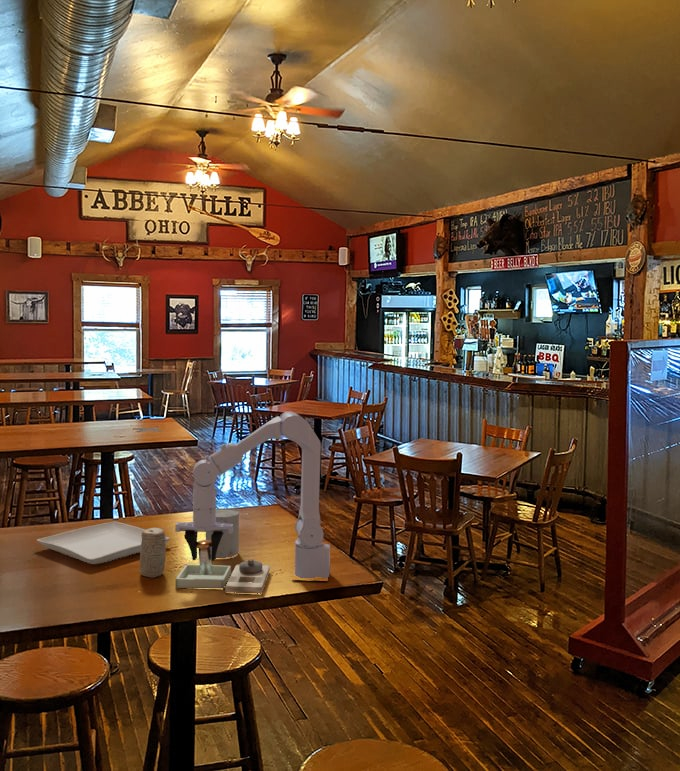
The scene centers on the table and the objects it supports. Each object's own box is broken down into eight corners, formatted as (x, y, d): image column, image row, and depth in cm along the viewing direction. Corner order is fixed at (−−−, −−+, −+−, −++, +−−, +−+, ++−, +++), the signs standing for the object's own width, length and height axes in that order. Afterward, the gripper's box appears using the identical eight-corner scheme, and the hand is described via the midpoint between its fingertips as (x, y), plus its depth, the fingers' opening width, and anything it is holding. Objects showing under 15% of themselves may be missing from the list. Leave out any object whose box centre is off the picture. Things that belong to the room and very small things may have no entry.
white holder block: (269, 572, 197) (269, 555, 197) (261, 595, 181) (261, 576, 181) (236, 571, 197) (236, 554, 197) (225, 594, 181) (225, 575, 181)
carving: (150, 581, 189) (150, 535, 188) (134, 574, 194) (133, 529, 193) (171, 575, 194) (171, 530, 193) (154, 568, 199) (154, 524, 198)
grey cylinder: (206, 561, 206) (207, 517, 204) (203, 550, 215) (204, 509, 214) (241, 558, 208) (241, 516, 207) (236, 548, 217) (236, 507, 216)
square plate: (91, 572, 195) (91, 558, 195) (35, 551, 212) (34, 538, 212) (171, 548, 217) (171, 535, 217) (114, 531, 233) (114, 519, 233)
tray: (230, 574, 195) (231, 565, 195) (223, 590, 184) (223, 580, 184) (186, 573, 195) (186, 564, 195) (175, 588, 184) (175, 578, 184)
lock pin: (216, 569, 191) (214, 539, 191) (213, 575, 187) (210, 544, 186) (199, 570, 192) (197, 540, 191) (195, 576, 187) (193, 545, 186)
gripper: (172, 510, 184) (172, 563, 185) (229, 512, 184) (229, 565, 185) (179, 503, 191) (179, 554, 192) (234, 505, 191) (234, 556, 192)
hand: (204, 559), depth 189 cm, fingers closed on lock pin, 4 cm apart
